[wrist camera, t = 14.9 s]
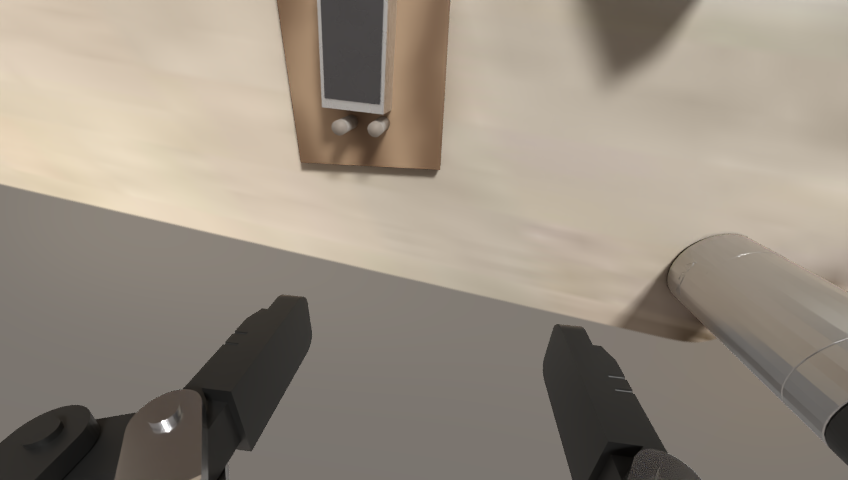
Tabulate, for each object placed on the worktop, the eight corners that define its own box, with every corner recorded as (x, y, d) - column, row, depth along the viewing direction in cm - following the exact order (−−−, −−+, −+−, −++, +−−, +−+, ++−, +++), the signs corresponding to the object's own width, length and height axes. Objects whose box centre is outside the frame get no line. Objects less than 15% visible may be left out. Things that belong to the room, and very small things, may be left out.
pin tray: (456, -108, 23) (458, -155, 18) (440, 166, 32) (438, 181, 28) (268, -111, 23) (223, -156, 19) (305, 159, 33) (282, 173, 28)
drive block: (397, -14, 25) (388, -30, 21) (391, 109, 29) (383, 114, 25) (334, -21, 25) (314, -38, 21) (337, 103, 29) (321, 107, 25)
